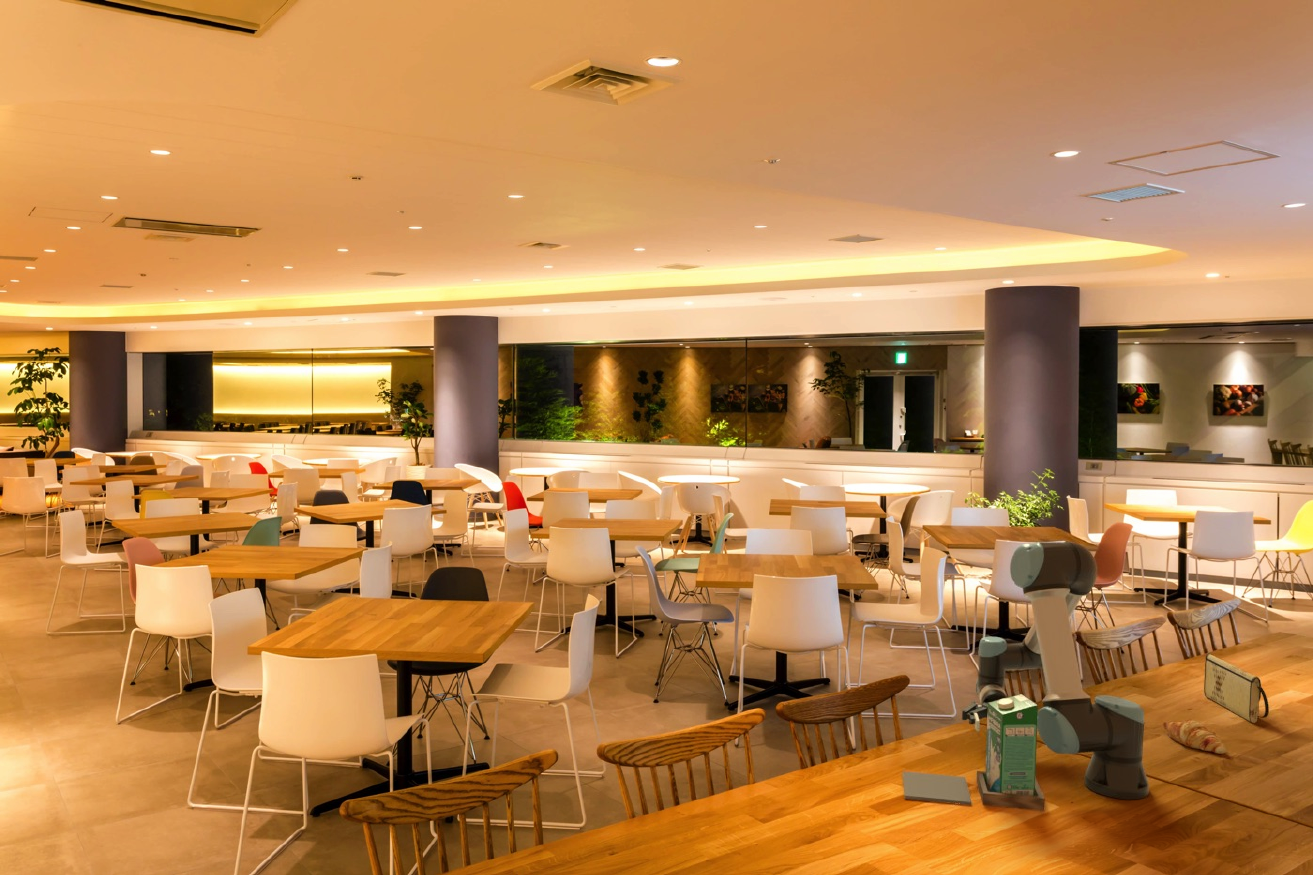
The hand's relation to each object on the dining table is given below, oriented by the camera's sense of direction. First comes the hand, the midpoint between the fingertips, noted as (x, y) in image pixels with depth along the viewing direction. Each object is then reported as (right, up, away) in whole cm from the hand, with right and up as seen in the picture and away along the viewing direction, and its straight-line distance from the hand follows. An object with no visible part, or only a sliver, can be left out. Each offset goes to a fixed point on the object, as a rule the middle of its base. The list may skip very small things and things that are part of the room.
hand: (1005, 728), depth 260 cm
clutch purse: (+96, -12, +61) cm, 115 cm away
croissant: (+66, -14, +30) cm, 73 cm away
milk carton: (-2, -15, -9) cm, 17 cm away
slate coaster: (-20, -14, -5) cm, 25 cm away
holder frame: (-2, -14, -9) cm, 17 cm away
